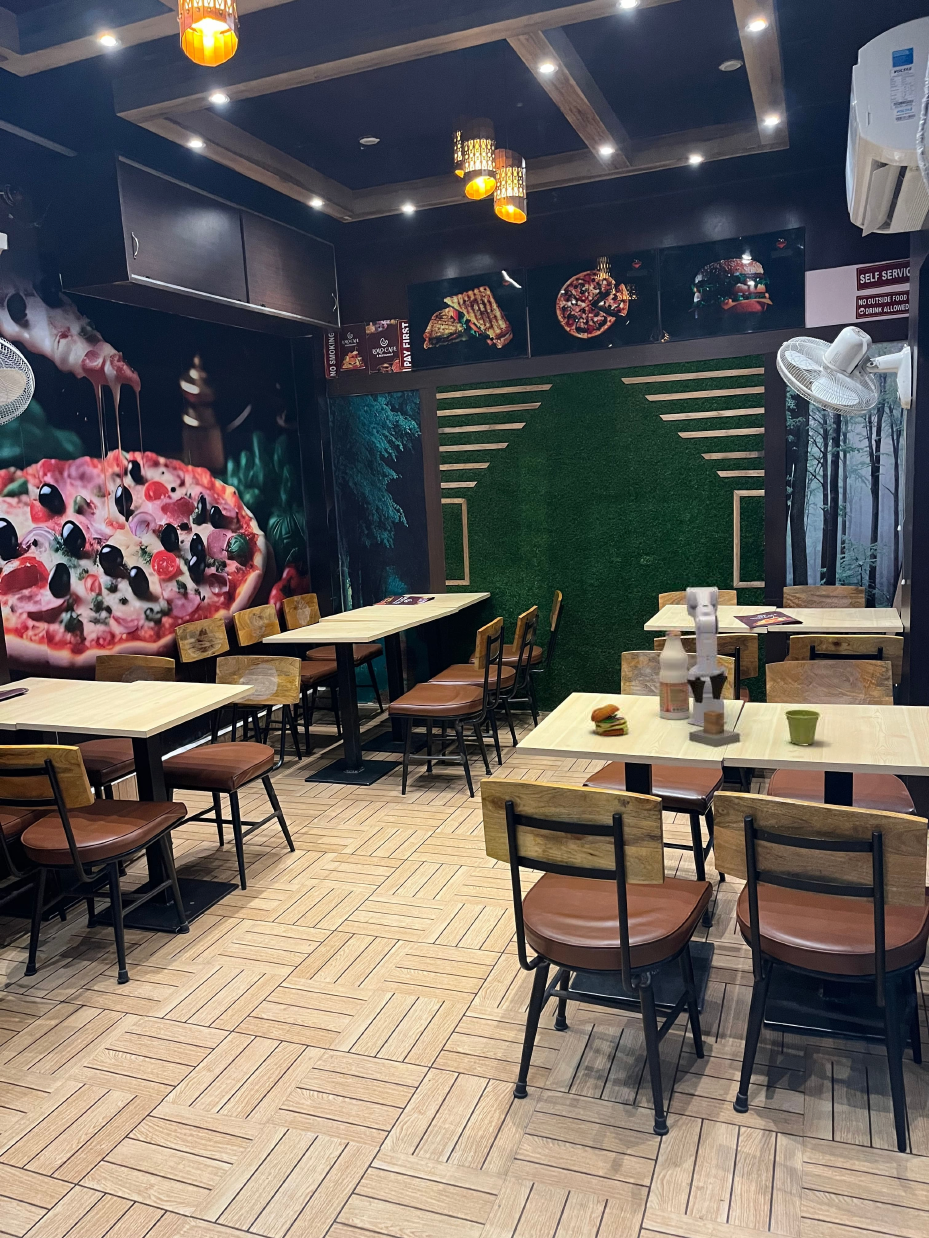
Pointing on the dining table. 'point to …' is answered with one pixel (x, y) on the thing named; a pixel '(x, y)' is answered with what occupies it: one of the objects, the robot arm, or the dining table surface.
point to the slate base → (714, 738)
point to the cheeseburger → (609, 721)
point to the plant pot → (802, 725)
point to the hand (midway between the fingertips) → (707, 700)
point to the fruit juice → (673, 679)
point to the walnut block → (714, 722)
